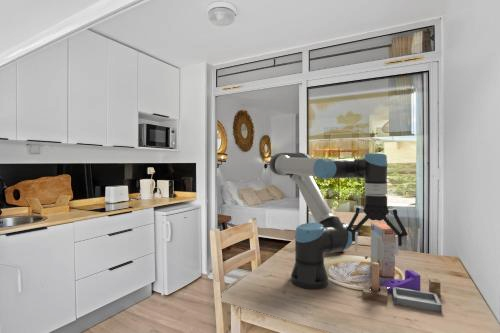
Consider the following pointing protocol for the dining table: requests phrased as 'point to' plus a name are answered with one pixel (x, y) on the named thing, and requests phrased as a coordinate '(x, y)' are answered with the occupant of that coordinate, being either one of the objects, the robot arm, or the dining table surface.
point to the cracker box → (383, 248)
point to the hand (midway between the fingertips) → (376, 252)
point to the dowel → (375, 277)
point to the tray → (416, 299)
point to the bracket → (404, 282)
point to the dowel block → (375, 293)
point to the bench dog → (434, 286)
